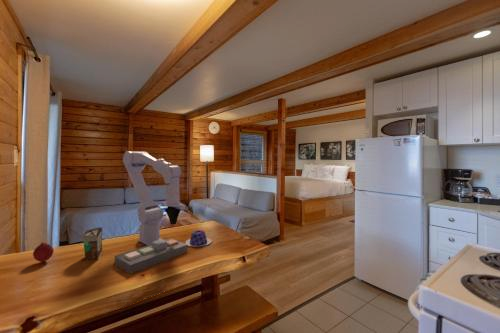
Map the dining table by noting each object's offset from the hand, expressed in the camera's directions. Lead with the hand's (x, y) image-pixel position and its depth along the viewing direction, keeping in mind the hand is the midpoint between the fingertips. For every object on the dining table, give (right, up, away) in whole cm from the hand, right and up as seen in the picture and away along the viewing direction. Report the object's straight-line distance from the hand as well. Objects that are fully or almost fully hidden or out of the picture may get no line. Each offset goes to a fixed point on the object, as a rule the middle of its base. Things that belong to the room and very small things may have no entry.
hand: (173, 224), depth 106 cm
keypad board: (-5, -11, -10) cm, 15 cm away
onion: (-44, -11, -15) cm, 48 cm away
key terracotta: (0, -10, -3) cm, 10 cm away
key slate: (-3, -9, -8) cm, 12 cm away
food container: (-30, -11, -9) cm, 33 cm away
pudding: (+10, -11, +7) cm, 16 cm away
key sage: (-7, -10, -12) cm, 17 cm away
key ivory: (-10, -10, -16) cm, 22 cm away
